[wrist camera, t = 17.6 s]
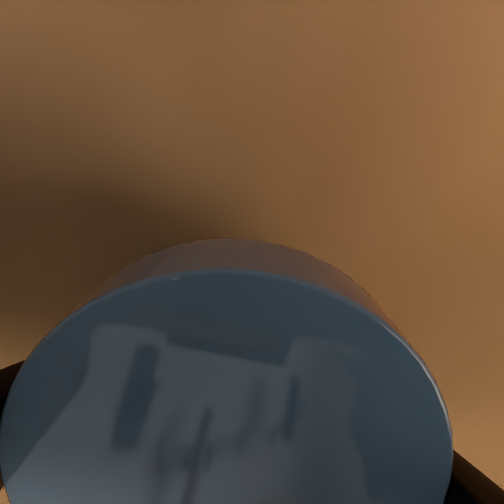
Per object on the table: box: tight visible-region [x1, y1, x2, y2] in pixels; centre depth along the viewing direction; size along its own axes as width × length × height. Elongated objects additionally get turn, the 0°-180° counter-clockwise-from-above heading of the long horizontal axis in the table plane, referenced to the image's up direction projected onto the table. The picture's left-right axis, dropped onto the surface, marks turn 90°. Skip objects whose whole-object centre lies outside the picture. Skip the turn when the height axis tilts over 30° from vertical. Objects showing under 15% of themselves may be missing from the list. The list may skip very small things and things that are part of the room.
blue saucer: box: [0, 238, 453, 504], centre depth 7 cm, size 7×7×2 cm
